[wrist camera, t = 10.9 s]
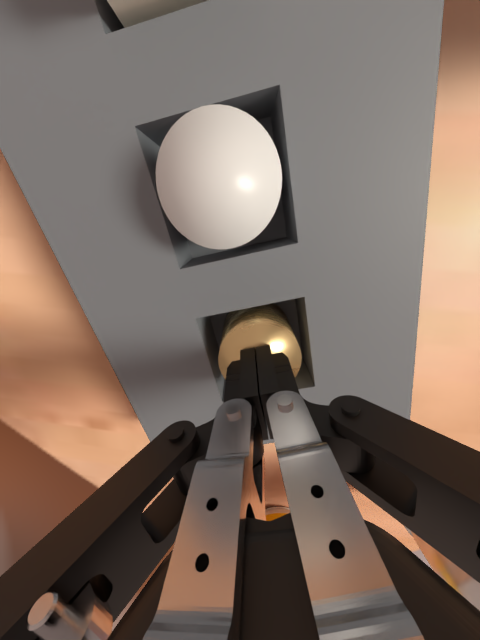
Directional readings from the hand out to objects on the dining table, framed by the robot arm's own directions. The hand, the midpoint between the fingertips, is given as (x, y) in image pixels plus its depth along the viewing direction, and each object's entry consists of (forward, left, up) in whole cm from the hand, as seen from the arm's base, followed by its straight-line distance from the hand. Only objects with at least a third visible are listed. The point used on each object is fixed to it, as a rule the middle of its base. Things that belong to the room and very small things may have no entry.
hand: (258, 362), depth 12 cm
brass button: (0, 0, -4) cm, 4 cm away
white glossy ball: (-8, 0, -2) cm, 8 cm away
